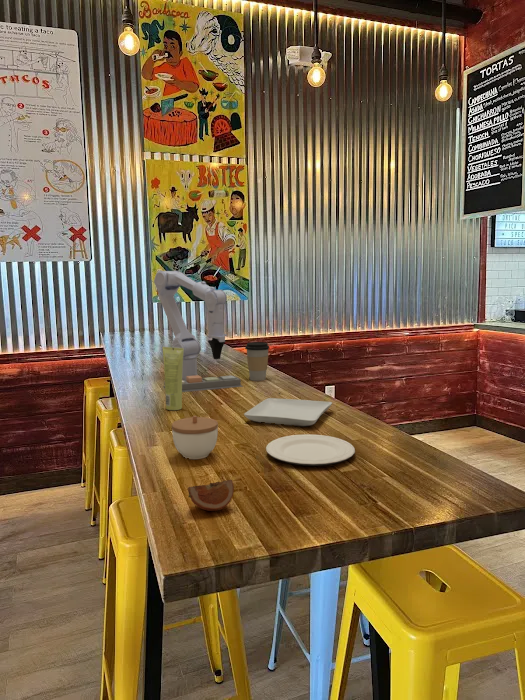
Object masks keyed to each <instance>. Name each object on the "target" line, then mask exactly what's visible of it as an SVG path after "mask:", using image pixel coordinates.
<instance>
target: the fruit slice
mask: <svg viewBox="0 0 525 700" xmlns="http://www.w3.org/2000/svg"><path fill="white" fill-rule="evenodd" d="M234 488H235V487H234V482H233V480H232V479H230V480H229V479H227V480H223V481H216V482H210V483H209V484H202V485H201V484H200V485H194V486H188V487H187V491H188V498H190V500H191V501H192V503H193V504H194V505H195V506H196V507H198V508H200V509H202V510H204V511H208V512H209V511H210V512H216V511H219V510H220V511H221V510H223V509H224V508H226V507H227V506H228V505H229V504H230V502H231V501H232V500H233V499H232V498H233V497H234V493H235V491H234Z"/></svg>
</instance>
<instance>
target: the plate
mask: <svg viewBox="0 0 525 700" xmlns="http://www.w3.org/2000/svg"><path fill="white" fill-rule="evenodd" d="M265 451H266V453H267V454H268V455H269V456H270V457H272V458H273V459H275V460H278V461H280V462H285V463H286V464H287V463H288V464H291V465H297V466H303V467H305V466H306V467H320V466H321V467H322V466H327V465H329V466H330V465H333V464H339V463H341V462H345V461H347V460H348V459H351V458H352V457H353V456H354V454H355V453H356V450H355V447H354V445H352V443H350V442H348V441H346V440H344V439H341V438H338V437H335V436H330V435H323V434H322V435H321V434H311V433H310V434H309V433H308V434H292V435H286V436H281V437H277V438H276V439H273V440H272V441H270V442H269V443H268V444H267V445H266V447H265Z"/></svg>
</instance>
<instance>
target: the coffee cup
mask: <svg viewBox="0 0 525 700" xmlns="http://www.w3.org/2000/svg"><path fill="white" fill-rule="evenodd" d="M270 349H271V348H270V346H269V343H268V342H263V341H252V342H247V343H246V346H245V347H244V350H246V360H247V368H248V375H249V380H250V381H255V382H262V381H265V380H267V379H266V378H267V370H268V363H269V362H268V361H269V350H270Z"/></svg>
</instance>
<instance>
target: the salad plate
mask: <svg viewBox="0 0 525 700" xmlns="http://www.w3.org/2000/svg"><path fill="white" fill-rule="evenodd" d="M332 405H333V402H332V401H325V400H324V401H323V400H310V399H308V400H307V399H298V398H297V399H294V398H293V399H291V398H277V397H276V398H275V397H268V398H267V397H266V399H264V400H262V401H261V402H259V403H258V404H256V405H254V406H253V407H252V408H250V409H248V410H247V411H246V412H244V413H243V415H244V416H245V418H246V419H248V420H250V421H252V422H257V423H261V422H265V423H264V424H271V423H275V424H274V425H281V424H284V426H292V425H294V426H295V427H309V426H313V425H315V424H316V422H317V421H318V420H319V418H320V417H321V416H322V415H323V414H324V413H325V412H327V410H329V408H330V407H331V406H332Z"/></svg>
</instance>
